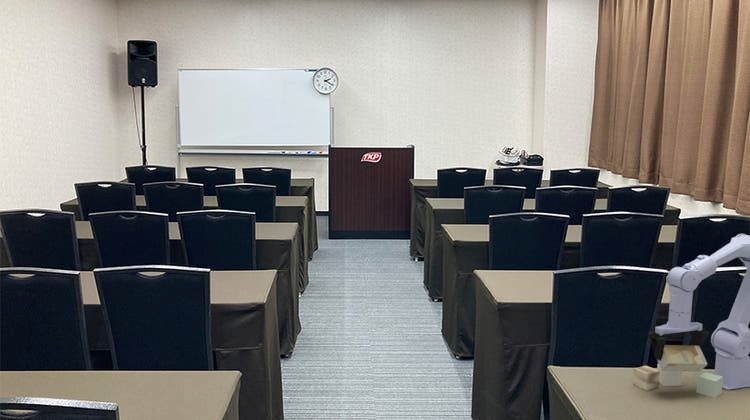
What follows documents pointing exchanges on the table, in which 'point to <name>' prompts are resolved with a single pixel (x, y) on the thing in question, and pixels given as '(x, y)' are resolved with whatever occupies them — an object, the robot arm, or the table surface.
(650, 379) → the cube beech
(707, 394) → the cube sage
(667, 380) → the cube cream
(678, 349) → the skincare box
